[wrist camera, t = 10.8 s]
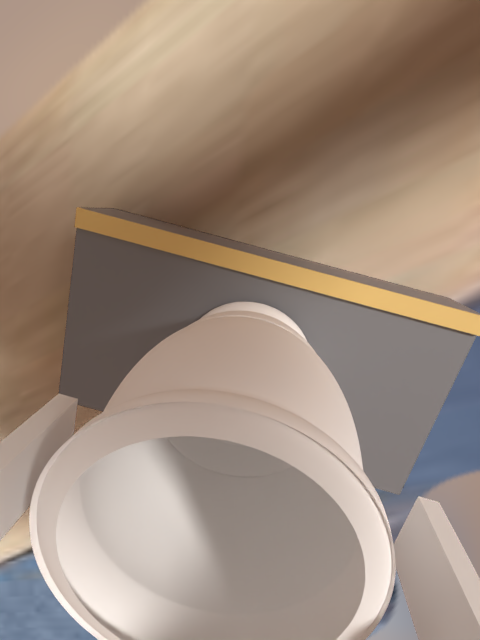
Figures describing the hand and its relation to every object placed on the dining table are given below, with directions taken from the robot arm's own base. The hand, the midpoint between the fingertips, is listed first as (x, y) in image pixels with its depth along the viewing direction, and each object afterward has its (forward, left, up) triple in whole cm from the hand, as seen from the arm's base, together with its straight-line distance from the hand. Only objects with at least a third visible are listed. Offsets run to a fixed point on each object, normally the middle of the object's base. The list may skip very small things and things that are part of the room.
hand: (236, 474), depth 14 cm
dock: (0, 0, -16) cm, 16 cm away
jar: (0, 0, -12) cm, 12 cm away
